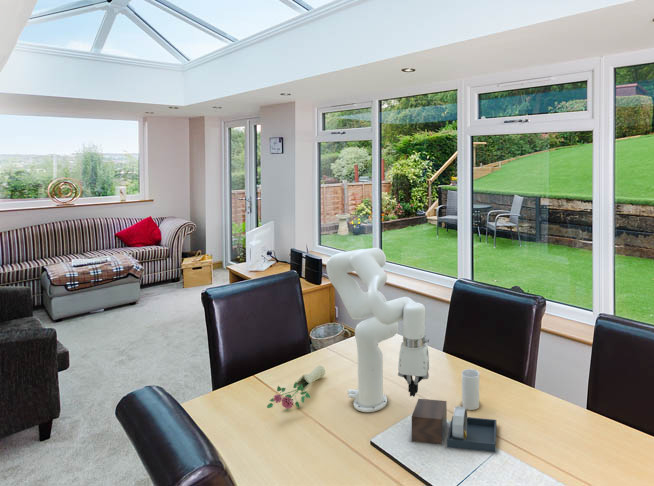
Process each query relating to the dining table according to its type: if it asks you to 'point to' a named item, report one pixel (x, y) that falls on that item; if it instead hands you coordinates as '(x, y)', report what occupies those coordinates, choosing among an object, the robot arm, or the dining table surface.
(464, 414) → the bowl
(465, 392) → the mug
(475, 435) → the tray
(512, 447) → the dining table surface
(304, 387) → the flower vase
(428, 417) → the block
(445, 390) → the dining table surface
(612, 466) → the dining table surface
